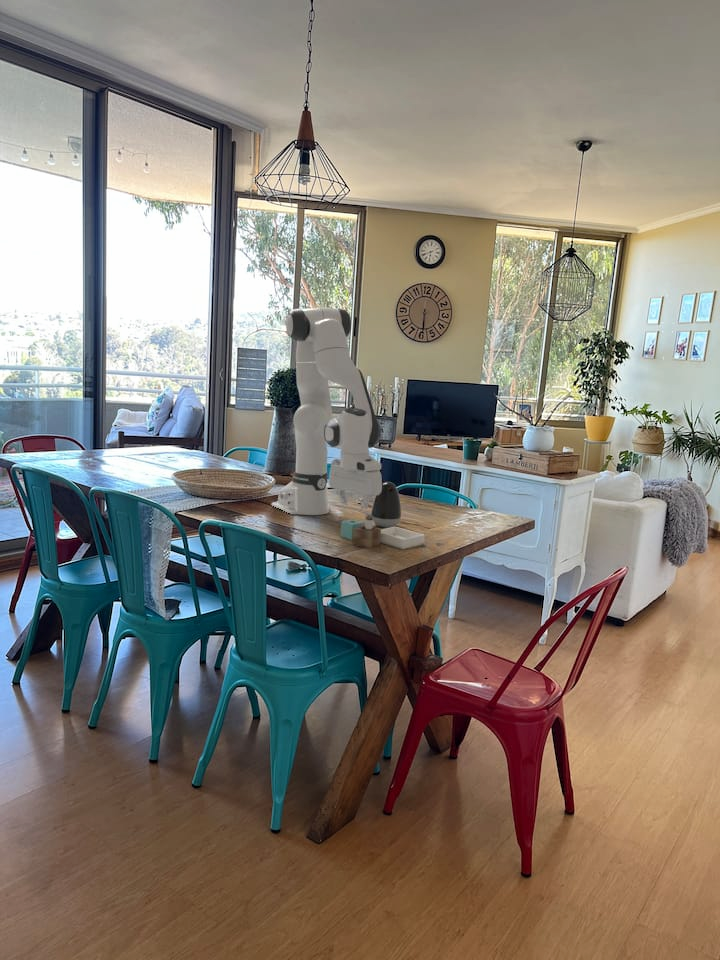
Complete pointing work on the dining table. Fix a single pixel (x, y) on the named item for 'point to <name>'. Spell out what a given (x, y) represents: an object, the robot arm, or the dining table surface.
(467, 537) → the dining table surface
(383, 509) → the dark grey egg shape
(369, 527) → the pin gauge
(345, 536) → the teal block
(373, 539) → the walnut block
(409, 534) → the tray
